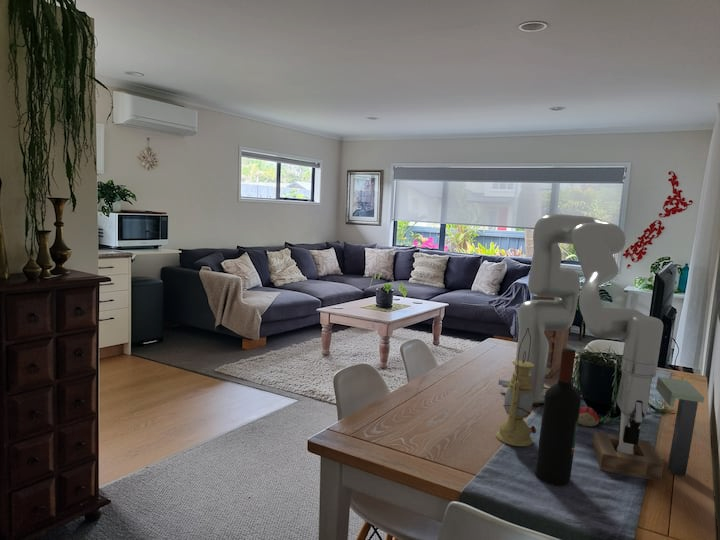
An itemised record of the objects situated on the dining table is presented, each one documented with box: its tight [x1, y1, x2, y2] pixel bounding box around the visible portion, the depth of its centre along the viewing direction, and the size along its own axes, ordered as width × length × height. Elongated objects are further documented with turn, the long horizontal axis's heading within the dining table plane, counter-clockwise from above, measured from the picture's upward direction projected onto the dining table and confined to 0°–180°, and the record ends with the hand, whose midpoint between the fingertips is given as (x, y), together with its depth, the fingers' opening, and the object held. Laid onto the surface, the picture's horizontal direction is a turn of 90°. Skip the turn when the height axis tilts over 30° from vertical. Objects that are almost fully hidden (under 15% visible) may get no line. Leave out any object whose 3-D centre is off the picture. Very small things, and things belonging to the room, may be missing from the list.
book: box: [533, 295, 571, 379], centre depth 202 cm, size 25×9×30 cm, turn 147°
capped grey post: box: [655, 376, 705, 477], centre depth 127 cm, size 7×12×21 cm, turn 164°
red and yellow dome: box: [578, 406, 600, 428], centre depth 155 cm, size 7×10×4 cm
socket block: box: [591, 431, 664, 482], centre depth 130 cm, size 13×13×4 cm
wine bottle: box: [534, 347, 582, 487], centre depth 119 cm, size 8×8×30 cm
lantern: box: [495, 328, 537, 447], centre depth 137 cm, size 12×10×30 cm
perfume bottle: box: [616, 410, 635, 455], centre depth 129 cm, size 5×4×15 cm
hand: (627, 437), depth 130 cm, fingers closed on perfume bottle, 4 cm apart
